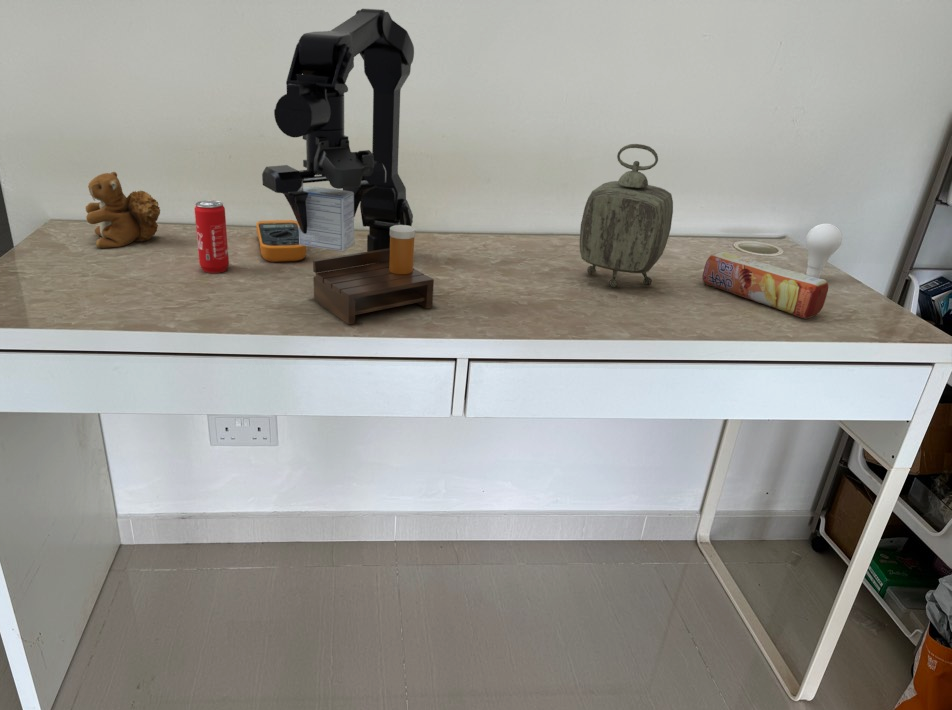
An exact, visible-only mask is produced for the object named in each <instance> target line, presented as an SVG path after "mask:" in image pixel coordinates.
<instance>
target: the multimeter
mask: <svg viewBox="0 0 952 710" xmlns="http://www.w3.org/2000/svg"><path fill="white" fill-rule="evenodd" d="M255 225H256V227H255V228H256V235H257V238H258V241H259V247H260V254H261V257H262V258H263V259H264V260H266V261H268V262H274V263H276V262H277V263H278V262H279V263H280V262H299V261H302V260H303V259H304V258H305V257H306V256H307V246H303V245H299V224H298V222H297V220H293V219H286V220H285V219H284V220H283V219H282V220H279V219H277V220H259V221H257V222H256V224H255Z"/></svg>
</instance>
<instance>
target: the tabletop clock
mask: <svg viewBox="0 0 952 710" xmlns="http://www.w3.org/2000/svg"><path fill="white" fill-rule="evenodd" d="M628 149H640V150H645V151H648V152H650V153H651V154H652V155H653V156H654V159H655V160H654V162H653V163H652V164H650V165H645V166H643V165H640V162H639V161H638V160H635V161H633V163H632V164H630V163H627V162H624V161H623V160H622V159H621V154H622V153H623V152H624V151H625V150H628ZM616 158H617V161H618V163H619V164H620V166H622V167H624V168H626V169H629V170H628V171H625V172H624V173H623V174H622V175H621V176H620V177H619V179H618V180H613V181H607V182H604V183H602V184H601V185H599V186H598V187H596V188H594V189H592V191H591V192H590V194H589V196H588V198H587V200H586V202H585V206H584V209H583V213H582V216H581V217H582V218H581V222H580V231H579V254H580V258H581V259H582V260H583V262H586V263H587V264H589V265H590V266H587V269H586V272H587V274H589V275H594V274H596V270H597V269H596V267H597V268H598V267H599V268H602V269H606V270H610V271H612V277H611V278H610V279H609V280H608V282H607V286H608V288H611V289H614V288H616V287H617V286H618V281H617V279H616V278H617V275H618V272H621V273H629V274H641V275H642V276H643V280H642V284H643V285H644V286H651V284H652V283H653V279H652V278H651V276H648V275H647V273H648V272H650V271H651V270H652V268H653V267H654V266H655V265H656V263H657V262H658V261H659V259H660V258H661V257H662V255H663V254H664V252H665V249H666V247H667V243H668V240H669V236H670V233H671V229H672V224H673V223H672V221H673V214H674V200H673V195H672V193H671V192H669V190H666V189H665V188H662V187H660V186H655V185H651V184H649V181H648V178H647V176H646V174H645V173H643V172H641V171H647V170H651V169H653V168H654V167H655V166H656V165H657V164H658V161H659V156H658V153H657V152H656V150H655V149H654V148H652V147H651V146H649V145H646V144H641V143H630V144H627V145H624V146H622V147H621V148H620V149H619V151H618V152H617V154H616Z"/></svg>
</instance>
